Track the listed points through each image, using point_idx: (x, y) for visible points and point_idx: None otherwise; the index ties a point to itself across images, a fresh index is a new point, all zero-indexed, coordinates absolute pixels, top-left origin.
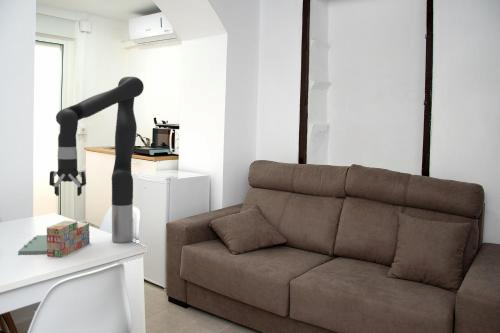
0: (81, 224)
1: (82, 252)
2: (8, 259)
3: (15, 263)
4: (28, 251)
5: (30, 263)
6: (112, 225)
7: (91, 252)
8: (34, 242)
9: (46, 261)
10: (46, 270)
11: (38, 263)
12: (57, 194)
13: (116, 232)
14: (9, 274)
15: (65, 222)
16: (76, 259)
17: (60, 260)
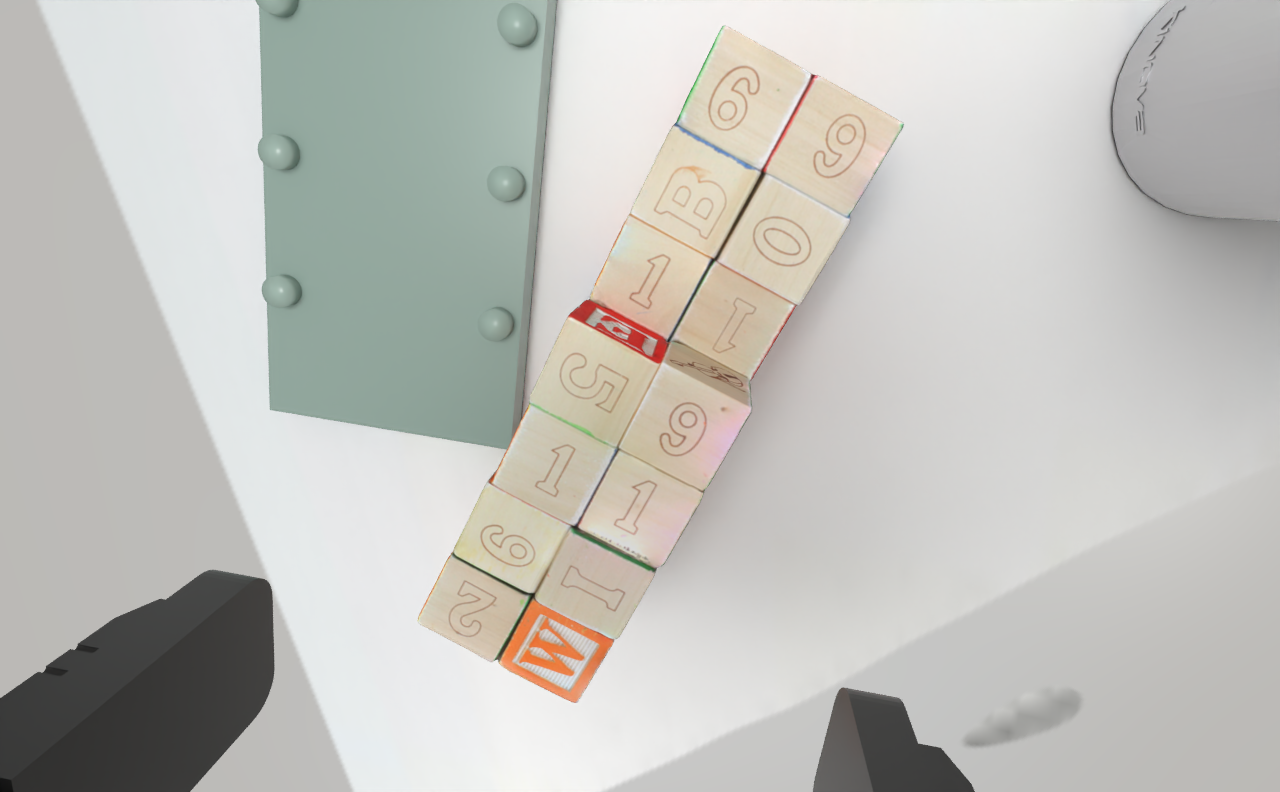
0: (795, 174)
1: (786, 448)
2: (260, 496)
3: (338, 593)
4: (350, 422)
5: None
6: (1248, 115)
7: (864, 465)
8: (318, 149)
9: None
10: (569, 768)
11: None
12: (236, 725)
13: (1229, 197)
14: (371, 774)
15: (594, 431)
16: (745, 611)
17: None
